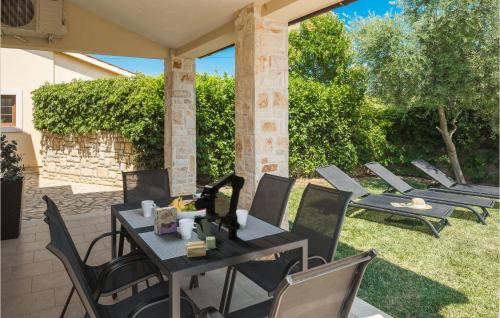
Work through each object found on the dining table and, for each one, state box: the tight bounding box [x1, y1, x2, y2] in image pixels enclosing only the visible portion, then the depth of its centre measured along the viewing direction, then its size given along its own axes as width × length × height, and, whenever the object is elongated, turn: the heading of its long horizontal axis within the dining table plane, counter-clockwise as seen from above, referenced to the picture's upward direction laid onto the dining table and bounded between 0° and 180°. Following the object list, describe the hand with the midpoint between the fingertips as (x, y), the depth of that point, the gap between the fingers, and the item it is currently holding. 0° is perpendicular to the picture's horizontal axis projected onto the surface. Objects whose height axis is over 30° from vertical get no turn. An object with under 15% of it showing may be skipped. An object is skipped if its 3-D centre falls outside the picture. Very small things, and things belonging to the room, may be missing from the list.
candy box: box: [153, 205, 178, 236], centre depth 227 cm, size 14×6×16 cm, turn 126°
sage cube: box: [205, 236, 216, 249], centre depth 202 cm, size 5×5×5 cm
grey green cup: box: [195, 215, 212, 240], centre depth 219 cm, size 10×10×12 cm
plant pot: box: [215, 197, 231, 224], centre depth 252 cm, size 15×15×16 cm
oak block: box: [185, 240, 207, 258], centre depth 192 cm, size 10×10×5 cm
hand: (210, 232), depth 202 cm, fingers open, 9 cm apart
